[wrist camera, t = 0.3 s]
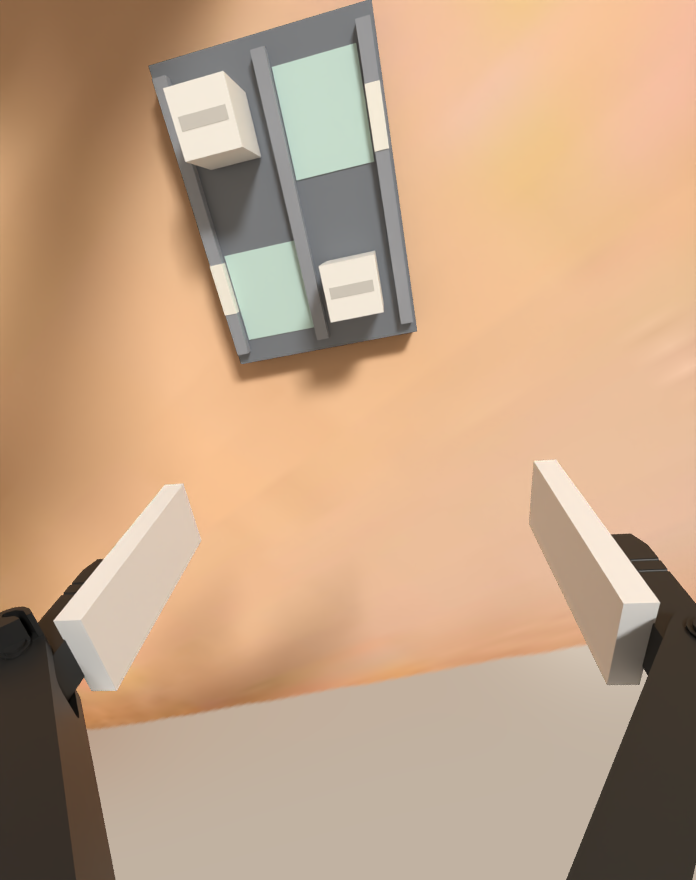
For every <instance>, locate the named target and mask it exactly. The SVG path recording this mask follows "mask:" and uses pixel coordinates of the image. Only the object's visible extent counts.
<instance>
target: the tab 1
mask: <svg viewBox="0 0 696 880" xmlns="http://www.w3.org/2000/svg"><path fill="white" fill-rule="evenodd" d="M163 90H164V93H165V97H166V100H167V103H168V107H169V110H170V113H171V116H172V120H173V123H174V126H175V130H176V133H177V136H178V139H179V143H180V146H181V149H182V152H183V156H184V159H185V162H187V163H191V164H194V165H197V166H200V167H203V168H207V169H210V170H213V169H217V168H221V167H225V166H229V165H233V164H237V163H241V162H244V161H248V160H252V159H256V158H260V157H261V154H260V150H259V146H258V142H257V137H256V133H255V129H254V125H253V121H252V117H251V113H250V109H249V105H248V100H247V96H246V92H245V91H244V90H243V89H242V88H240V87H239V86H238V85H237V84H236V83H235V82H234V81H233V80H232V79H231V78H230V77H229V76H228V75H227V74H226V73H225V72H224V71H221V72H217V73H214V74H210V75H207V76H204V77H200V78H197V79H193V80H190V81H186V82H183V83H179V84H176V85H173V86H169V87H166V88H163Z"/></svg>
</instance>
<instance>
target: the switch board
mask: <svg viewBox="0 0 696 880" xmlns="http://www.w3.org/2000/svg"><path fill="white" fill-rule="evenodd" d="M149 69H150V73H151V76H152V81H153V84H154V88H155V91H156V94H157V97H158V101H159V104H160V107H161V110H162V113H163V117H164V120H165V123H166V126H167V129H168V133H169V136H170V139H171V142H172V145H173V149H174V152H175V155H176V158H177V162H178V165H179V168H180V171H181V174H182V178H183V181H184V184H185V187H186V190H187V194H188V197H189V200H190V203H191V206H192V210H193V213H194V216H195V219H196V223H197V226H198V229H199V232H200V235H201V239H202V242H203V245H204V248H205V251H206V255H207V258H208V261H209V264H210V269H211V272H212V276H213V279H214V282H215V285H216V288H217V292H218V295H219V298H220V301H221V304H222V308H223V311H224V314H225V316H226V319H227V322H228V325H229V329H230V332H231V335H232V338H233V341H234V345H235V348H236V351H237V354H238V356H239V359H240V362H241V364H245V363H250V362H255V361H261V360H266V359H271V358H277V357H282V356H287V355H293V354H298V353H303V352H309V351H314V350H320V349H325V348H330V347H336V346H341V345H346V344H352V343H357V342H362V341H368V340H373V339H378V338H384V337H389V336H394V335H400V334H405V333H411V332H416V331H417V327H416V320H415V312H414V305H413V298H412V291H411V283H410V276H409V269H408V261H407V254H406V247H405V240H404V232H403V225H402V218H401V211H400V203H399V196H398V189H397V181H396V174H395V167H394V160H393V152H392V145H391V138H390V131H389V123H388V116H387V109H386V101H385V94H384V87H383V80H382V72H381V65H380V58H379V51H378V43H377V36H376V29H375V21H374V14H373V7H372V0H366V1H363V2H359V3H356V4H353V5H349V6H346V7H343V8H339V9H336V10H333V11H329V12H326V13H323V14H319V15H316V16H313V17H309V18H306V19H303V20H299V21H296V22H293V23H289V24H286V25H283V26H279V27H276V28H273V29H269V30H266V31H263V32H259V33H256V34H253V35H249V36H246V37H243V38H239V39H236V40H233V41H229V42H226V43H223V44H219V45H216V46H213V47H209V48H206V49H203V50H199V51H196V52H193V53H189V54H186V55H183V56H179V57H176V58H173V59H169V60H166V61H163V62H159V63H156V64H153V65H149ZM221 71H224V72H225V73H226V74H227V75H228V76H229V77H230V78H231V79H232V80H233V81H234V82H235V83H236V84H237V85H238V86H239V87H240V88H242V89H243V90H244V91H245V92H246V96H247V100H248V105H249V109H250V113H251V117H252V121H253V125H254V129H255V133H256V137H257V142H258V146H259V150H260V154H261V157H260V158H256V159H252V160H248V161H244V162H241V163H237V164H233V165H229V166H225V167H221V168H217V169H213V170H210V169H207V168H203V167H200V166H197V165H194V164H191V163H187V162H185V159H184V156H183V152H182V149H181V146H180V143H179V139H178V136H177V133H176V130H175V126H174V123H173V120H172V116H171V113H170V110H169V107H168V103H167V100H166V97H165V93H164V90H163V88H166V87H169V86H173V85H176V84H179V83H183V82H186V81H190V80H193V79H197V78H200V77H204V76H207V75H210V74H214V73H217V72H221ZM371 251H375V252H376V259H377V265H378V271H379V277H380V283H381V289H382V295H383V301H384V312H382V313H377V314H372V315H367V316H362V317H357V318H352V319H346V320H341V321H336V322H331V321H330V317H329V312H328V308H327V303H326V298H325V294H324V289H323V284H322V280H321V275H320V271H319V266H320V265H321V264H323V263H324V262H326V261H329V260H334V259H338V258H343V257H348V256H352V255H357V254H361V253H366V252H371Z"/></svg>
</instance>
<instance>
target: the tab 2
mask: <svg viewBox="0 0 696 880" xmlns="http://www.w3.org/2000/svg"><path fill="white" fill-rule="evenodd" d="M319 271H320V275H321V280H322V284H323V289H324V294H325V298H326V303H327V308H328V312H329V317H330V321H331V322H336V321H341V320H346V319H352V318H357V317H362V316H367V315H372V314H377V313H382V312H384V301H383V295H382V289H381V283H380V277H379V271H378V265H377V259H376V252H375V251H371V252H366V253H361V254H357V255H352V256H348V257H343V258H338V259H334V260H329V261H326V262H324V263H323V264H321V265H320V266H319Z"/></svg>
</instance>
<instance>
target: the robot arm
mask: <svg viewBox="0 0 696 880" xmlns="http://www.w3.org/2000/svg"><path fill="white" fill-rule="evenodd" d="M529 525H530V527H531V529H532V531H533V533H534V536H535V538H536V540H537V542H538V544H539V546H540V548H541V550H542V552H543V554H544V556H545V558H546V560H547V562H548V564H549V566H550V569H551V571H552V573H553V575H554V577H555V579H556V581H557V583H558V585H559V587H560V589H561V591H562V593H563V595H564V597H565V599H566V602H567V604H568V606H569V608H570V610H571V612H572V614H573V616H574V618H575V620H576V622H577V624H578V626H579V628H580V630H581V632H582V635H583V637H584V639H585V641H586V643H587V645H588V647H589V649H590V651H591V653H592V655H593V657H594V659H595V661H596V663H597V665H598V668H599V669H600V672H601V674H602V676H603V678H604V680H605V682H606V684H607V685H639V684H640V680H641V676H642V672H643V669H644V670H645V671H646V673H647V675H648V677H647V680H646V682H645V685H644V687H643V690H642V692H641V695H640V697H639V700H638V702H637V705H636V707H635V710H634V712H633V715H632V717H631V720H630V722H629V725H628V727H627V730H626V732H625V735H624V737H623V739H622V742H621V744H620V747H619V750H618V752H617V754H616V757H615V759H614V762H613V764H612V767H611V769H610V772H609V774H608V777H607V779H606V782H605V784H604V787H603V790H602V792H601V794H600V797H599V800H598V802H597V804H596V807H595V810H594V812H593V814H592V817H591V819H590V822H589V824H588V827H587V829H586V832H585V834H584V837H583V839H582V842H581V844H580V847H579V849H578V852H577V854H576V857H575V859H574V862H573V864H572V867H571V869H570V872H569V874H568V877H567V879H566V880H692V878H693V874H694V869H695V865H696V603H695V602H694V601H693V600H692V598H691V597H690V596H689V595H688V593H687V592H686V591H685V590H684V589H683V587H682V586H681V585H680V584H679V582H678V581H677V580H676V579H675V578H674V576H673V575H672V574H671V573H670V571H667V568H666V567H665V565H664V564H663V563H662V562H661V561H659V559H658V557H657V556H656V554H655V553H654V552H653V551H652V550H651V548H650V547H649V546H648V545H647V544H646V543H644V542H643V541H641V540H640V539H638V538H637V537H635V536H634V535H632V534H613V535H611V534H610V533H609V532H608V530H607V529H606V527H605V526H604V525H603V523H602V522H601V521H600V519H599V518H598V516H597V515H596V514H595V512H594V511H593V510H592V508H591V507H590V505H589V504H588V503H587V501H586V500H585V499H584V497H583V496H582V495H581V493H580V492H579V490H578V489H577V488H576V486H575V485H574V484H573V482H572V481H571V479H570V478H569V477H568V475H567V474H566V473H565V471H564V470H563V468H562V467H561V466H560V464H559V463H558V462H557V460H542V461H534V463H533V476H532V490H531V503H530V517H529ZM200 542H201V538H200V535H199V531H198V528H197V525H196V522H195V519H194V516H193V513H192V509H191V506H190V503H189V500H188V497H187V494H186V490H185V487H184V484H170V485H164V486H163V488H162V489H161V490H160V491H159V492H158V494H157V495H156V496H155V497H154V499H153V500H152V501H151V502H150V503H149V505H148V506H147V507H146V508H145V509H144V511H143V512H142V513H141V514H140V516H139V517H138V518H137V519H136V520H135V522H134V523H133V524H132V525H131V527H130V528H129V529H128V530H127V531H126V533H125V534H124V535H123V536H122V538H121V539H120V540H119V541H118V542H117V544H116V545H115V546H114V547H113V549H112V550H111V551H110V552H109V553H108V555H107V556H106V557H105V558H104V559H97V560H96V561H95V562H93V563H92V564H91V565H89V566H88V567H87V568H85V569H84V570H83V571H82V572H81V573H80V574H79V575H78V576H77V578H76V579H75V580H74V581H73V582H72V585H70V586H69V587H68V588H67V589H66V591H65V592H64V595H61V596H60V598H59V599H58V600H57V601H56V602H55V603H54V605H53V606H52V607H51V608H50V609H49V610H48V612H47V613H46V614H45V615H44V616H43V617H42V619H41V620H40V621H39V622H38V623H37V621H36V619H35V617H34V616H33V614H32V612H31V610H30V609H29V608H26V607H15V608H11V609H8V610H5V611H2V612H1V613H0V880H115V875H114V870H113V865H112V859H111V854H110V849H109V844H108V839H107V834H106V829H105V823H104V818H103V813H102V808H101V803H100V797H99V792H98V788H97V782H96V777H95V772H94V766H93V761H92V756H91V752H90V746H89V741H88V736H87V730H86V725H85V720H84V715H83V710H82V704H81V699H80V696H79V695H78V693H77V691H76V688H77V687H78V685H79V684H80V682H81V681H82V679H83V678H85V680H86V682H87V684H88V685H89V687H90V689H91V691H117V689H118V688H119V686H120V684H121V682H122V681H123V679H124V677H125V675H126V673H127V672H128V670H129V668H130V666H131V665H132V663H133V661H134V659H135V657H136V656H137V654H138V652H139V650H140V649H141V647H142V645H143V643H144V641H145V640H146V638H147V636H148V634H149V633H150V631H151V629H152V627H153V625H154V624H155V622H156V620H157V618H158V617H159V615H160V613H161V611H162V609H163V608H164V606H165V604H166V602H167V601H168V599H169V597H170V595H171V593H172V592H173V590H174V588H175V586H176V585H177V583H178V581H179V579H180V577H181V576H182V574H183V572H184V570H185V569H186V567H187V565H188V563H189V561H190V560H191V558H192V556H193V554H194V553H195V551H196V549H197V547H198V545H199V544H200Z"/></svg>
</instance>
